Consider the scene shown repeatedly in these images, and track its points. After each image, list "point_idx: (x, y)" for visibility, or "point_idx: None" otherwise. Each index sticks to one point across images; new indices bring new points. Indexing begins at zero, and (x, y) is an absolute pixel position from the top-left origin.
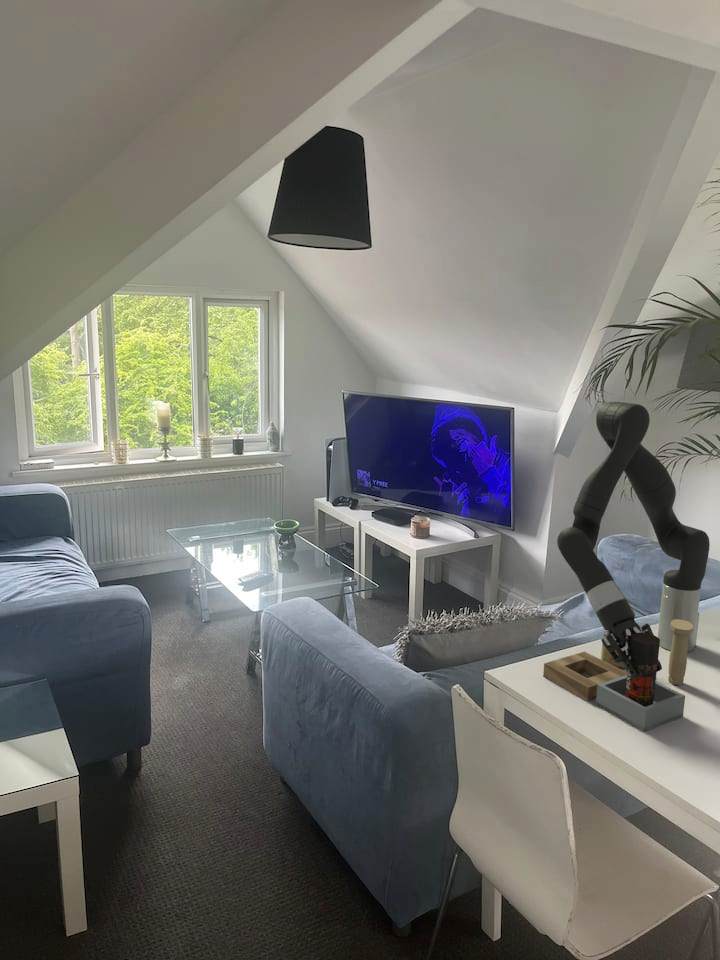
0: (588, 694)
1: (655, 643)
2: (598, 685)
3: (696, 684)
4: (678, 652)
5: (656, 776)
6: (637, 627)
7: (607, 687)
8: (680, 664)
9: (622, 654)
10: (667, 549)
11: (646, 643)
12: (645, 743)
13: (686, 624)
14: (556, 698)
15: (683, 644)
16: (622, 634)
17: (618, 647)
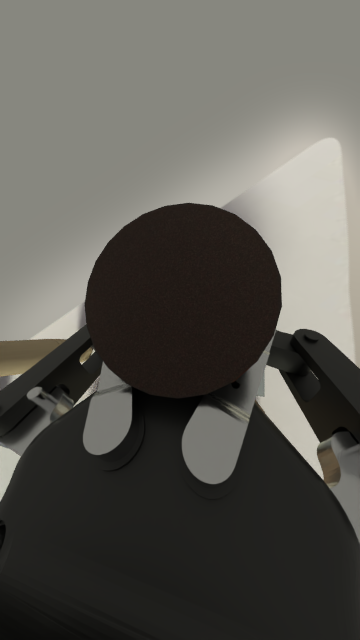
0: (257, 404)
1: (188, 204)
2: (263, 393)
3: (69, 331)
4: (32, 349)
5: (339, 200)
6: (56, 443)
7: None
8: (58, 342)
9: (317, 344)
10: None
11: (248, 225)
12: (276, 263)
13: None
14: (302, 446)
15: (2, 343)
16: (255, 459)
17: (347, 380)
